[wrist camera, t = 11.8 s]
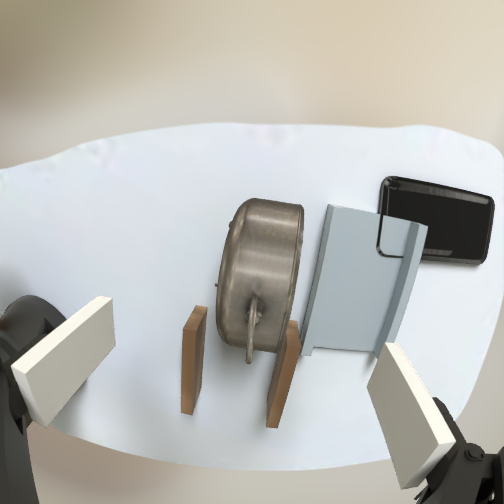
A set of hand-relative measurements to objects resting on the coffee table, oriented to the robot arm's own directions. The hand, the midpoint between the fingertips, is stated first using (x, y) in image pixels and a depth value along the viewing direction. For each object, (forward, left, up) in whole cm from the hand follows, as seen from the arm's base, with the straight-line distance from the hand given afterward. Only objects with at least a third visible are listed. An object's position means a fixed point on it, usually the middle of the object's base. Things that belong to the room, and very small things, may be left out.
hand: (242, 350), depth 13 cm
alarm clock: (0, 0, -16) cm, 16 cm away
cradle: (+10, -1, -16) cm, 19 cm away
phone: (+18, +6, -16) cm, 25 cm away
